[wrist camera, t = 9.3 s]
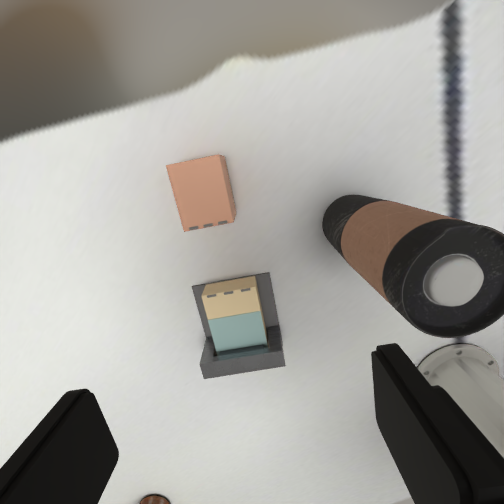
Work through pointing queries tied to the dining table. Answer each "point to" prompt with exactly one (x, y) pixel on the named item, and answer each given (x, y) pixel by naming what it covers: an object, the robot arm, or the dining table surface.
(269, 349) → the grey rectangular collar
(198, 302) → the mat
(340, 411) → the dining table surface
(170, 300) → the dining table surface
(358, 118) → the dining table surface
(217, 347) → the tan and teal block
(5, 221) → the dining table surface
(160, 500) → the sauce bottle
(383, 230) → the travel mug
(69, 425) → the robot arm
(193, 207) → the stub
